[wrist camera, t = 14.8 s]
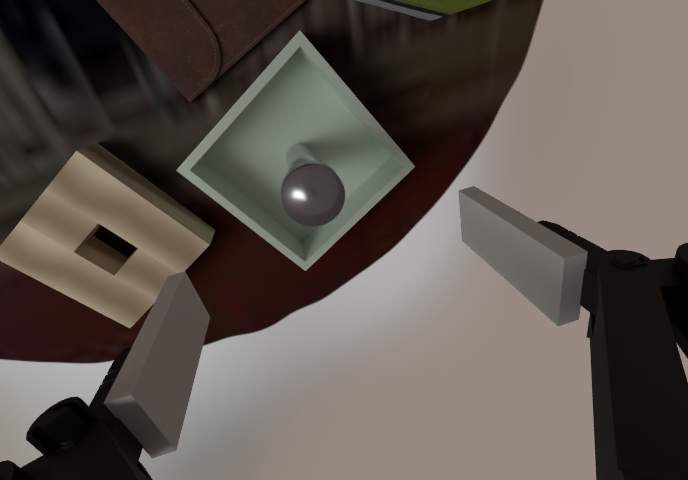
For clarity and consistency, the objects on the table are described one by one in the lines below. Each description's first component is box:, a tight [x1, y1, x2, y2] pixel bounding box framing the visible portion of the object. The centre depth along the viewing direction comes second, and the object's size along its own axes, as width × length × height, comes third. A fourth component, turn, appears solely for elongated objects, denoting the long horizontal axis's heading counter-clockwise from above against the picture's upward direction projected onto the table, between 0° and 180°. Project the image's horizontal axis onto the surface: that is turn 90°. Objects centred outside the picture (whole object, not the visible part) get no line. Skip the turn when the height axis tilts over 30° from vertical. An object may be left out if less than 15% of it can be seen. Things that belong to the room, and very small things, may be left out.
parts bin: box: [176, 31, 415, 271], centre depth 35 cm, size 16×16×6 cm
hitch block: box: [0, 143, 215, 328], centre depth 36 cm, size 14×14×4 cm
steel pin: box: [281, 143, 345, 227], centre depth 31 cm, size 5×5×14 cm
